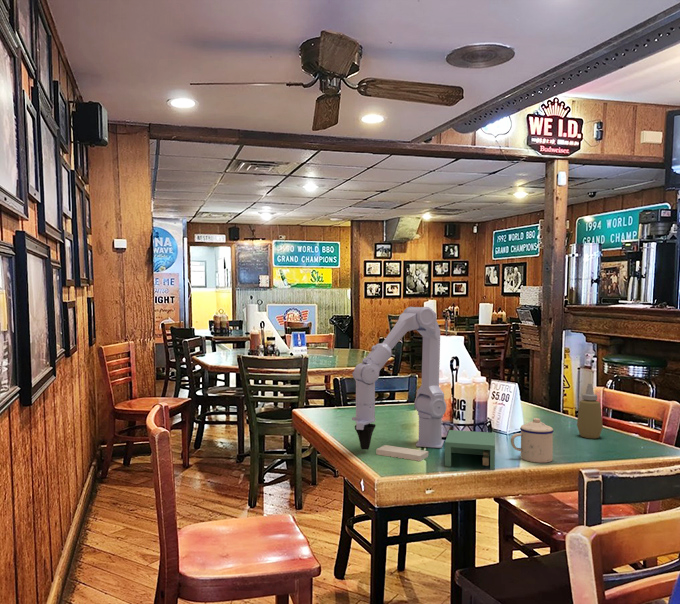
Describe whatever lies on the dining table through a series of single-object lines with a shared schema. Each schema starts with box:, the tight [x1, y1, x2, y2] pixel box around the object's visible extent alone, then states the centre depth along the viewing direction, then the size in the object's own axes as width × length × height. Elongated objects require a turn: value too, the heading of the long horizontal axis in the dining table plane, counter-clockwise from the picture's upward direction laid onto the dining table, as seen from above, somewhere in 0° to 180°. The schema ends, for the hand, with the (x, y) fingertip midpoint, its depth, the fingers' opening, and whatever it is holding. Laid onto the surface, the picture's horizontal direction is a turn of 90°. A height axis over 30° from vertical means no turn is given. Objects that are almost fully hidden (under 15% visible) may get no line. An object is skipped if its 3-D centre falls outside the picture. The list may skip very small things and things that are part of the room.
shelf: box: [444, 429, 496, 471], centre depth 157 cm, size 16×13×6 cm
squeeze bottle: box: [576, 383, 604, 439], centre depth 187 cm, size 8×8×18 cm
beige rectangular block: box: [375, 444, 429, 462], centre depth 162 cm, size 6×14×2 cm, turn 59°
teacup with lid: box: [510, 417, 554, 464], centre depth 159 cm, size 12×9×12 cm
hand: (365, 449), depth 165 cm, fingers closed
